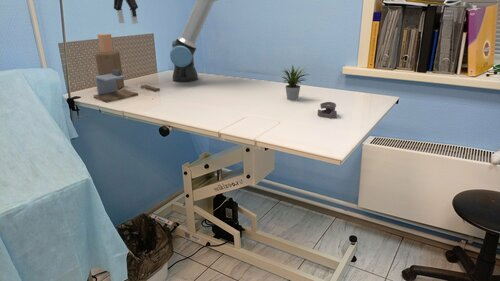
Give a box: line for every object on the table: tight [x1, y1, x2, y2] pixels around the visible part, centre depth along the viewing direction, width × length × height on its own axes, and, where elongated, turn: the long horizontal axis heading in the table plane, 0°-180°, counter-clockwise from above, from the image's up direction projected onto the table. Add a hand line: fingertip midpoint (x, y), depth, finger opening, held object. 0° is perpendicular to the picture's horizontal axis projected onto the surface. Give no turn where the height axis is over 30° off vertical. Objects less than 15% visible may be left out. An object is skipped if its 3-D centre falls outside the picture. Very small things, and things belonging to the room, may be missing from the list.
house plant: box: [281, 64, 310, 101], centre depth 169 cm, size 14×14×16 cm
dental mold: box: [317, 101, 337, 120], centre depth 148 cm, size 8×7×5 cm
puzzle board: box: [93, 84, 161, 103], centre depth 188 cm, size 30×14×1 cm, turn 136°
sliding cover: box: [94, 69, 126, 95], centre depth 180 cm, size 10×12×12 cm
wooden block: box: [94, 50, 125, 90], centre depth 197 cm, size 10×10×20 cm
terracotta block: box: [97, 33, 115, 53], centre depth 191 cm, size 5×5×9 cm
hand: (128, 23), depth 191 cm, fingers open, 13 cm apart
